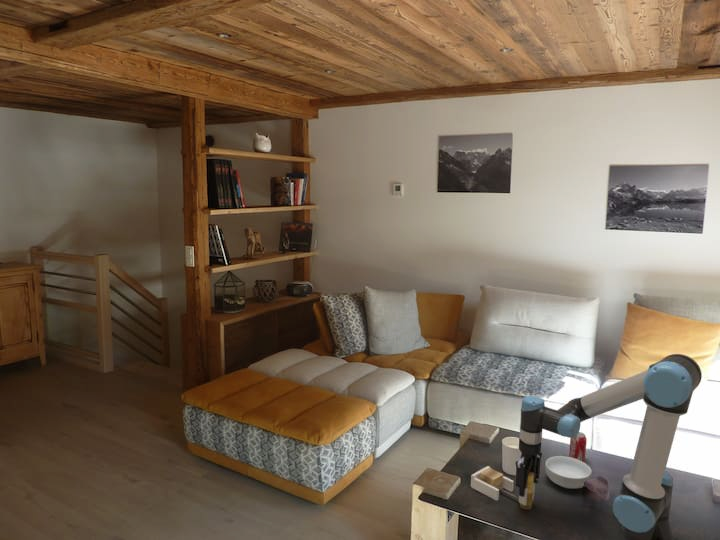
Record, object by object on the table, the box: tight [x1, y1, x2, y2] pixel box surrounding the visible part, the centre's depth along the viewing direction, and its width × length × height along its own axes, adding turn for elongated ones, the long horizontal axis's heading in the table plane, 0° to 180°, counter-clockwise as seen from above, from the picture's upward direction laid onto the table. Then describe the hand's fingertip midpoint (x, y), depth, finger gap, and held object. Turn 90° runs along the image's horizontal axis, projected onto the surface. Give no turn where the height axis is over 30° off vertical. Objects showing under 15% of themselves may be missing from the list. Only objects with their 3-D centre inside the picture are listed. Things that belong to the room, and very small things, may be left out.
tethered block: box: [480, 467, 534, 511], centre depth 199 cm, size 20×6×13 cm, turn 41°
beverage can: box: [568, 431, 587, 463], centre depth 225 cm, size 6×6×12 cm
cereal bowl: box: [544, 455, 593, 489], centre depth 209 cm, size 17×17×7 cm
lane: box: [470, 465, 515, 502], centre depth 204 cm, size 12×10×5 cm
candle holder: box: [501, 436, 522, 476], centre depth 218 cm, size 10×10×12 cm
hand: (526, 501), depth 194 cm, fingers closed on tethered block, 4 cm apart
